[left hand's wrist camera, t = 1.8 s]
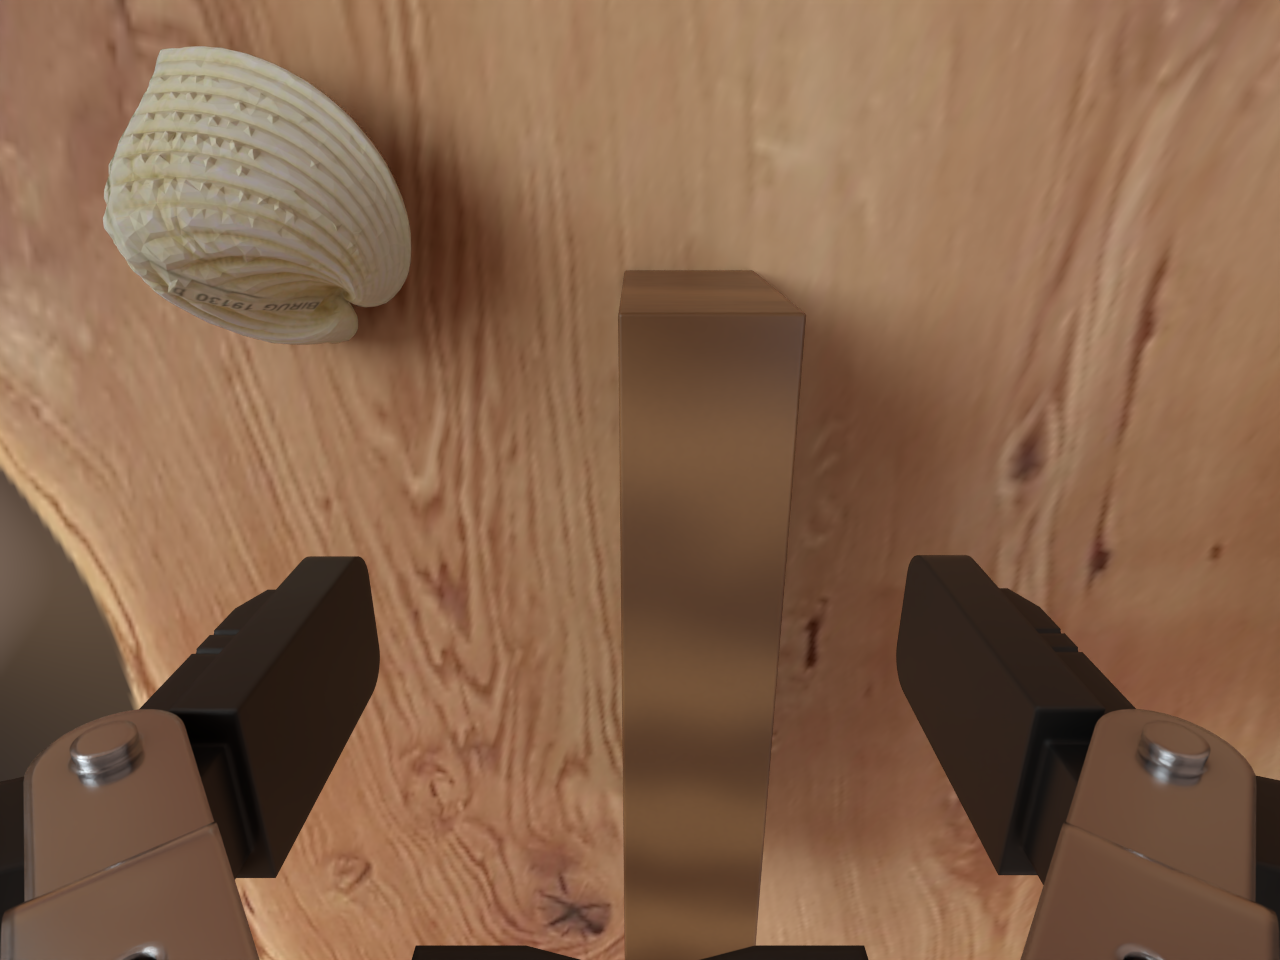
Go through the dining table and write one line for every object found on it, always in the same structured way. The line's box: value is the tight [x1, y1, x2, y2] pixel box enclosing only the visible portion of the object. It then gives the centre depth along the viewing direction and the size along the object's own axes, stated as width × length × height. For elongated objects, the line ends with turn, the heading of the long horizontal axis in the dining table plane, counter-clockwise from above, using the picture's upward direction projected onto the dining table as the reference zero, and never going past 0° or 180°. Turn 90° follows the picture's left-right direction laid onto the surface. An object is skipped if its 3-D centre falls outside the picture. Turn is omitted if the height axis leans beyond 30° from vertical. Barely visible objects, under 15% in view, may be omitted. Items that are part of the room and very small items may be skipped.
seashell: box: [103, 46, 411, 345], centre depth 24 cm, size 8×8×8 cm
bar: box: [618, 271, 806, 960], centre depth 28 cm, size 24×5×9 cm, turn 0°
